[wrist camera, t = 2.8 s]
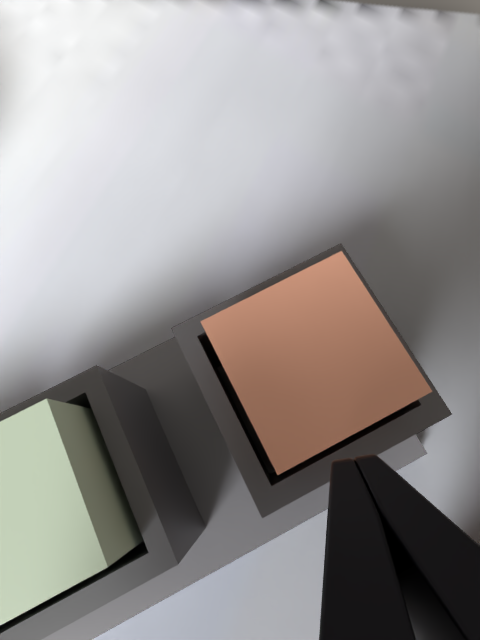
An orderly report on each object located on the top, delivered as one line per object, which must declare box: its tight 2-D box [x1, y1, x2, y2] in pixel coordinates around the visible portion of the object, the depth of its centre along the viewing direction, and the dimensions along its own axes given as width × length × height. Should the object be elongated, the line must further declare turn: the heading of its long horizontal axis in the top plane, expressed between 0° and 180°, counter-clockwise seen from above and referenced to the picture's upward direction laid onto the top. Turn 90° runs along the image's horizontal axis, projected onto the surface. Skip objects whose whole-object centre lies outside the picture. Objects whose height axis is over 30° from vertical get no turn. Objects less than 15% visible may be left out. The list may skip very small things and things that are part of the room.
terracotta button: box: [200, 251, 432, 475], centre depth 13 cm, size 4×4×5 cm
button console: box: [0, 244, 452, 640], centre depth 15 cm, size 9×24×6 cm, turn 117°
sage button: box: [0, 399, 143, 625], centre depth 12 cm, size 4×4×5 cm
